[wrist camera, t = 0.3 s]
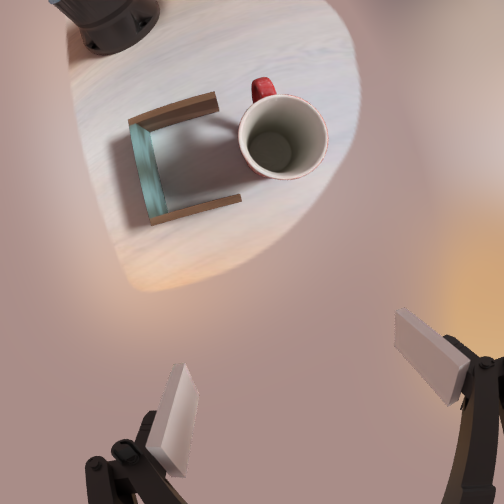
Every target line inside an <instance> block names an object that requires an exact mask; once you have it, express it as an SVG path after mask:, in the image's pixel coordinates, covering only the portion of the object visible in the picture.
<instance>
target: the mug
mask: <svg viewBox="0 0 504 504" xmlns="http://www.w3.org/2000/svg"><path fill="white" fill-rule="evenodd" d="M251 90H252V100H253V105H251V106H250V107H249V108H248V109H247V111H246V112H245V113H244V115H243V117H242V119H241V121H240V124H239V128H238V143H239V147H240V150H241V152H242V155H243V156H244V158H245V160H246V162H247V164H248V166H249V167H250V168H251V170H252V171H254V172H255V173H256V174H258V175H260V176H263V177H269V178H273V179H278V180H292V179H297V178H300V177H303V176H305V175H307V174H309V173H310V172H312V171H313V170H314V169H315V168H316V167H317V166H318V165H319V164H320V163H321V161H322V160H323V158H324V156H325V154H326V151H327V147H328V131H327V127H326V124H325V122H324V120H323V118H322V116H321V115H320V113H319V112H318V111H317V110H316V108H314V107H313V106H312V105H311V104H310V103H308V102H307V101H305V100H303V99H301V98H299V97H296V96H292V95H286V94H277V93H276V91H275V88H274V86H273V84H272V82H271V80H270V79H269V78H267V77H262V78H258V79H255V80H254V81H253V82H252V89H251Z"/></svg>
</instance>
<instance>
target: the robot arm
mask: <svg viewBox="0 0 504 504" xmlns="http://www.w3.org/2000/svg"><path fill="white" fill-rule="evenodd" d="M49 2H50V3H51V4H53V5H55V6H56V7H57V8H58V9H59V10H60V11H61V12H63V13H64V14H65V15H66V16H67V17H68V18H69V19H71V20H72V21H73V22H74V23H75V24H76V25H77V26H78V27H79V29H80V33H81V36H82V39H83V42H84V44H85V46H86V47H87V48H88V49H89V50H90V51H91V52H92V53H94V54H97V55H111V54H115V53H118V52H121V51H123V50H126V49H128V48H129V47H131V46H133V45H135V44H136V43H138V42H139V41H140V40H141V39H143V38H144V37H145V36H146V35H147V34H148V33H149V32H150V31H151V30H152V28H153V27H154V26H155V24H156V22H157V20H158V18H159V14H160V9H159V5H158V3H157V1H156V0H49ZM394 341H395V342H394V347H395V348H396V349H397V350H398V351H399V352H400V353H401V354H402V355H403V356H404V358H405V359H406V360H407V361H408V362H409V363H410V364H411V365H412V366H413V367H414V369H415V370H416V371H417V372H418V373H419V374H420V375H421V376H422V378H423V379H424V380H425V381H426V382H427V383H428V384H429V386H430V387H431V388H432V389H433V390H434V391H435V392H436V394H437V395H438V396H439V397H440V398H441V399H442V401H443V402H444V403H445V404H446V405H447V407H448V406H450V405H452V404H453V403H455V402H456V401H458V400H459V397H460V394H461V392H462V393H463V394H464V395H465V397H464V400H463V403H462V405H461V408H460V410H462V418H461V425H460V432H459V437H458V443H457V448H456V453H455V457H454V462H453V466H452V470H451V473H450V477H449V481H448V484H447V487H446V491H445V494H444V497H443V500H442V503H441V504H493V502H494V498H495V492H496V488H495V486H493V485H492V482H493V476H494V470H495V462H496V455H497V445H498V431H499V416H500V419H501V423H502V428H503V433H504V357H501V358H498V359H496V360H494V359H493V358H491V357H487V356H484V357H478V356H477V355H476V354H475V353H474V352H472V351H471V350H470V349H469V348H467V347H466V346H464V345H463V344H462V343H460V341H458V340H457V339H456V338H455V337H452V336H449V335H445V336H443V337H442V336H441V335H440V334H438V333H437V332H436V331H435V330H433V329H432V328H431V327H429V326H428V325H427V324H426V323H424V322H423V321H422V320H421V319H419V318H418V317H417V316H416V315H414V314H413V313H412V312H410V311H409V310H408V309H407V308H405V307H404V308H401V309H399V310H396V311H395V340H394ZM198 401H199V393H198V391H197V388H196V386H195V384H194V382H193V380H192V377H191V375H190V373H189V371H188V368H187V366H186V364H185V363H179V364H174V365H173V367H172V370H171V372H170V375H169V378H168V381H167V384H166V387H165V390H164V392H163V395H162V398H161V401H160V404H159V407H158V410H157V411H149V412H148V413H147V414H146V415H145V417H144V418H143V421H142V423H141V426H140V429H139V432H138V434H137V437H136V440H135V442H133V441H132V440H129V439H123V440H120V441H118V442H116V443H115V444H114V445H113V446H112V449H111V453H112V456H113V457H114V458H115V459H116V460H114V461H106V460H105V459H104V458H103V457H101V456H94V457H92V458H90V459H89V460H88V461H87V462H86V465H85V473H86V486H87V496H88V503H89V504H138V502H137V499H136V495H135V493H138V495H139V496H140V497H141V499H142V501H143V502H144V504H187V503H186V501H185V500H184V499H183V498H182V497H181V496H180V495H179V494H178V492H177V491H176V490H175V489H174V488H173V487H172V485H171V484H170V483H169V481H168V480H167V479H166V478H165V476H166V472H167V473H168V474H169V475H170V476H171V477H186V473H187V466H188V460H189V454H190V448H191V442H192V436H193V430H194V424H195V418H196V413H197V407H198ZM462 408H463V409H462Z"/></svg>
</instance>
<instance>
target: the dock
mask: <svg viewBox="0 0 504 504" xmlns="http://www.w3.org/2000/svg"><path fill="white" fill-rule="evenodd" d="M218 111H219V107H218V103H217V99H216V95H215V92H210V93H206V94H202V95H199V96H195V97H192V98H188V99H185V100H181V101H178V102H175V103H172V104H169V105H166V106H163V107H160V108H157V109H154V110H152V111H149V112H146V113H143V114H141V115H138V116H136V117H133V118H131V119H128V123H129V129H130V134H131V140H132V145H133V150H134V155H135V160H136V165H137V169H138V174H139V178H140V183H141V187H142V191H143V195H144V199H145V203H146V207H147V211H148V215H149V219H150V223H151V226H154V225H157V224H160V223H164V222H167V221H171V220H174V219H178V218H181V217H185V216H189V215H192V214H196V213H199V212H203V211H207V210H211V209H215V208H218V207H222V206H226V205H230V204H234V203H238V202H242V199H241V195H240V194H237V195H233V196H229V197H225V198H221V199H217V200H213V201H209V202H206V203H202V204H198V205H195V206H191V207H188V208H184V209H180V210H177V211H174V212H170V213H168V210H167V206H166V202H165V198H164V194H163V190H162V186H161V182H160V177H159V173H158V169H157V164H156V160H155V155H154V150H153V146H152V141H151V136H150V132H152V131H155V130H157V129H160V128H163V127H166V126H169V125H172V124H176V123H179V122H182V121H185V120H189V119H192V118H195V117H199V116H203V115H206V114H210V113H214V112H218Z"/></svg>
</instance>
